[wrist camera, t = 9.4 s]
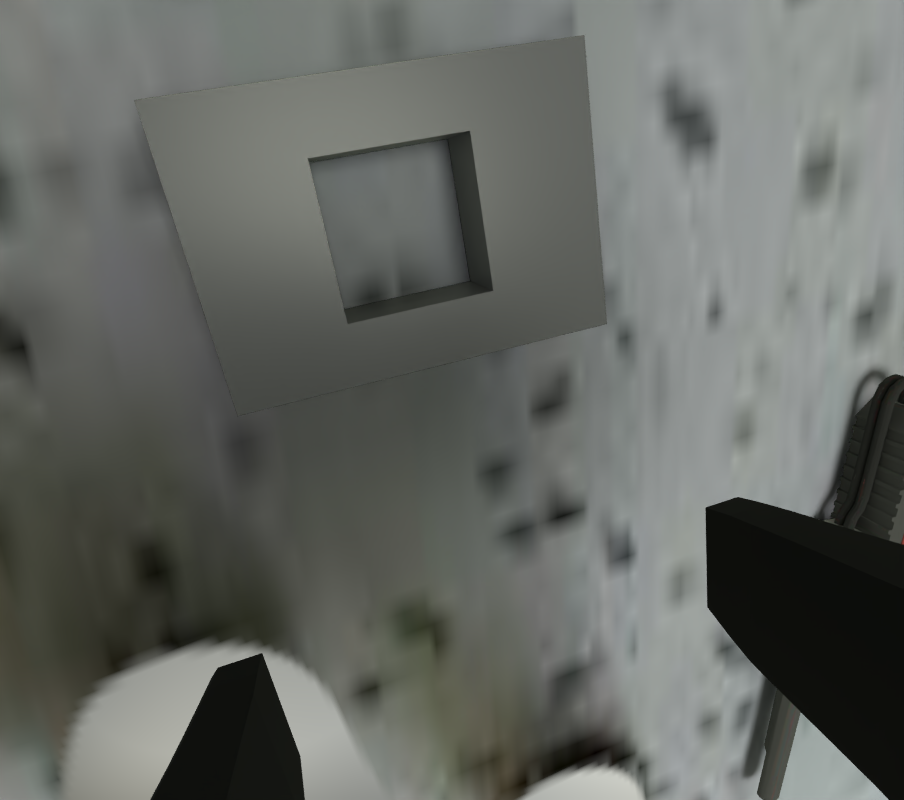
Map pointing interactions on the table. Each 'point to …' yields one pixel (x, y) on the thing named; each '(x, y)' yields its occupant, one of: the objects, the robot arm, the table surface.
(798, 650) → the robot arm
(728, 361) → the table surface
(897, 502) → the red belt-clip case
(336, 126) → the fuse block
